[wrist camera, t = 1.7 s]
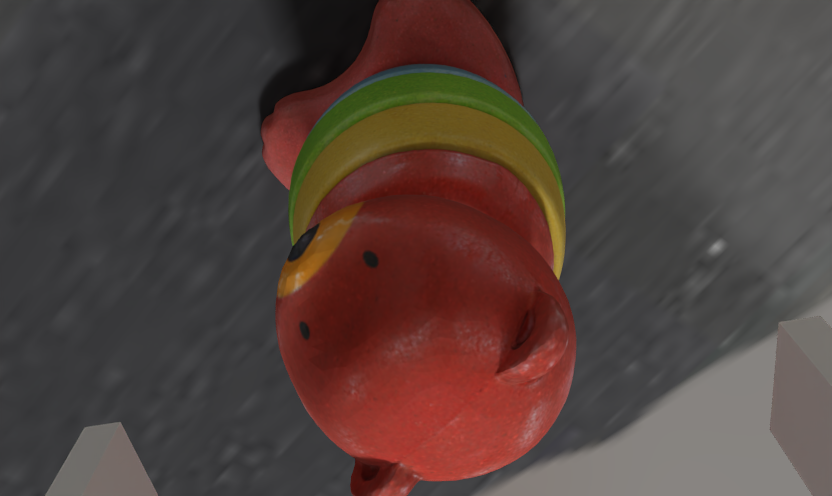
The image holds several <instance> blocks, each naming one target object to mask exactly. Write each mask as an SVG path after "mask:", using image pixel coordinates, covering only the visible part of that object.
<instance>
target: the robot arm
mask: <svg viewBox="0 0 832 496" xmlns="http://www.w3.org/2000/svg"><path fill="white" fill-rule="evenodd" d="M770 430H771V432H772V434H773V435H774V437H775V438H776V440H777V441H778V443H779V445H780V446H781V448H782V449H783V451H784V452H785V454H786V455H787V457H788V458H789V460H790V461H791V463H792V465H793V466H794V467H795V469H796V471H797V472H798V474H799V475H800V477H801V478H802V480H803V481H804V483H805V485H806V486H807V488H808V489H809V491H810V492H811V494H812V495H813V496H832V328H831V327H830V326H829V325H828V324H827V323H826V321H825V320H824V319H823V318H822V317H821V316H816V317H810V318H803V319H797V320H790V321H783V322H779V326H778V338H777V351H776V362H775V374H774V387H773V398H772V410H771V422H770ZM45 496H158V494H157V493H156V491H155V489H154V487H153V485H152V483H151V481H150V479H149V477H148V475H147V473H146V471H145V469H144V467H143V465H142V463H141V461H140V459H139V457H138V455H137V454H136V452H135V450H134V448H133V446H132V444H131V442H130V440H129V438H128V436H127V434H126V432H125V430H124V428H123V426H122V424H121V422H117V423H110V424H104V425H97V426H90V427H85V428H84V430H83V431H82V433H81V435H80V436H79V438H78V440H77V442H76V443H75V445H74V447H73V448H72V450H71V452H70V454H69V455H68V457H67V459H66V461H65V462H64V464H63V466H62V467H61V469H60V471H59V473H58V474H57V476H56V478H55V480H54V481H53V483H52V485H51V486H50V488H49V490H48V492H47V493H46V495H45Z"/></svg>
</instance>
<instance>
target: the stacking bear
mask: <svg viewBox="0 0 832 496" xmlns="http://www.w3.org/2000/svg"><path fill="white" fill-rule="evenodd" d="M261 136H262V139H263V142H264V145H263V149H262V155H263V158H264V161H265V163H266V165H267V166H268V168H269V169H270V171H271V172H272V173H273V174H274V175H275V176H276V177H277V179H278V180H279V181H280V182H281V183H282V184H283V185H284V186H285V187H286V188H287V189H288V190H289V209H288V210H289V227H290V234H291V240H292V245H293V247H292V250H291V252H290V254H289V257H288V259H287V261H286V262H285V264H284V266H283V268H282V272H281V275H280V279H279V283H278V290H277V298H276V331H277V337H278V343H279V349H280V352H281V355H282V358H283V361H284V364H285V366H286V369H287V372H288V374H289V376H290V379H291V381H292V383H293V385H294V387H295V389H296V391H297V393H298V395H299V397H300V399H301V401H302V403H303V405H304V407H305V408H306V410H307V412H308V413H309V414H310V416H311V417H312V418H313V420H314V421H315V423H316V424H317V425H318V426H319V427H320V428H321V429H322V431H323V432H324V433H325V434H326V435H327V436H328V437H329V439H331V440H332V441H333V442H334V443H335V444H336V445H337V446H339V447H340V448H341V449H342V450H344V451H345V452H346V453H348V454H349V455H351V456H352V457H354V458H355V467H354V470H353V473H352V476H351V484H350V486H351V493H352V495H353V496H406V495H408V494H409V492H410V491H411V489H412V488H413V487H414V486H415V484H416V483H417V482H418V481H420V480H426V481H451V480H460V479H465V478H471V477H476V476H480V475H483V474H487V473H489V472H492V471H494V470H497V469H500V468H501V467H503V466H505V465H507V464H509V463H511V462H513V461H515V460H517V459H518V458H520V457H521V456H522V455H524V454H525V453H527V452H528V451H529V450H530V449H531V448H533V447H534V446H535V445H536V444H537V443H538V442H539V441H540V440H541V439H542V437H543V436H544V435H545V434H546V433H547V432H548V430H549V429H550V427H551V426H552V424H553V423H554V421H555V420H556V418H557V416H558V415H559V413H560V411H561V409H562V407H563V405H564V403H565V401H566V398H567V396H568V393H569V390H570V386H571V382H572V378H573V372H574V366H575V358H576V332H575V326H574V320H573V315H572V312H571V309H570V305H569V302H568V300H567V297H566V295H565V293H564V291H563V289H562V287H561V285H560V283H559V277H560V274H561V270H562V266H563V259H564V253H565V231H566V227H565V200H564V192H563V186H562V180H561V176H560V172H559V169H558V165H557V162H556V159H555V157H554V154H553V151H552V149H551V147H550V145H549V143H548V141H547V139H546V137H545V135H544V134H543V132H542V131H541V129H540V128H539V126H538V124H537V123H536V121H535V120H534V118H533V117H532V116H531V115H530V113H529V112H528V111H527V110H526V109H525V108H524V106H523V101H522V96H521V92H520V88H519V85H518V82H517V78H516V75H515V72H514V70H513V67H512V65H511V62H510V60H509V58H508V56H507V54H506V52H505V50H504V47H503V45H502V43H501V42H500V40H499V38H498V37H497V35H496V34H495V32H494V30H493V29H492V27H491V26H490V24H489V23H488V21H487V20H486V19H485V17H484V16H483V15H482V14H481V12H480V11H479V10H478V9H477V7H476V6H475V5H474V4H473V3H472V2H471V1H470V0H379V2H378V3H377V5H376V7H375V10H374V13H373V17H372V21H371V26H370V30H369V33H368V36H367V39H366V42H365V44H364V46H363V48H362V50H361V52H360V54H359V55H358V57H357V58H356V60H355V61H354V63H353V64H352V65H351V66H350V67H349V68H348V69H347V70H346V71H345V72H344V73H343V74H341V75H340V76H339V77H338V78H336V79H335V80H333V81H332V82H330V83H328V84H326V85H324V86H321V87H318V88H315V89H311V90H307V91H302V92H297V93H293V94H290V95H288V96H286V97H284V98H282V99H281V100H279V101H278V102H277V103H276V105H275V109H274V112H273V113H272V114H271V115H269V116H267V117H266V118H265V119H264V121H263V124H262V127H261Z"/></svg>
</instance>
